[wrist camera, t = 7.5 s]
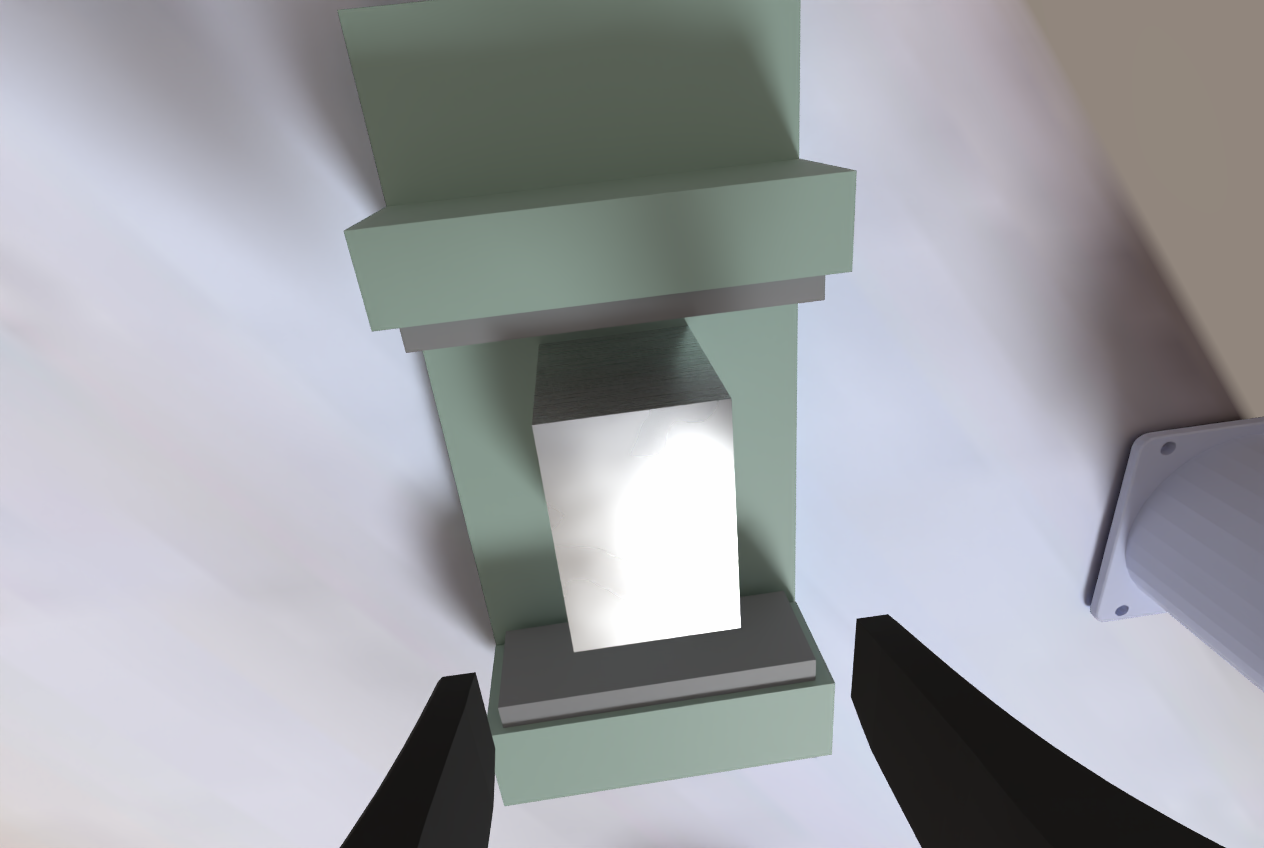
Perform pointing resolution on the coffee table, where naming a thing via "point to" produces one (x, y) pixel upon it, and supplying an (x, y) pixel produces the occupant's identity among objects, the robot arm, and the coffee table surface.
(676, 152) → the vise
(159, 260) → the coffee table surface
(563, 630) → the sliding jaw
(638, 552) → the steel block
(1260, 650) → the robot arm
